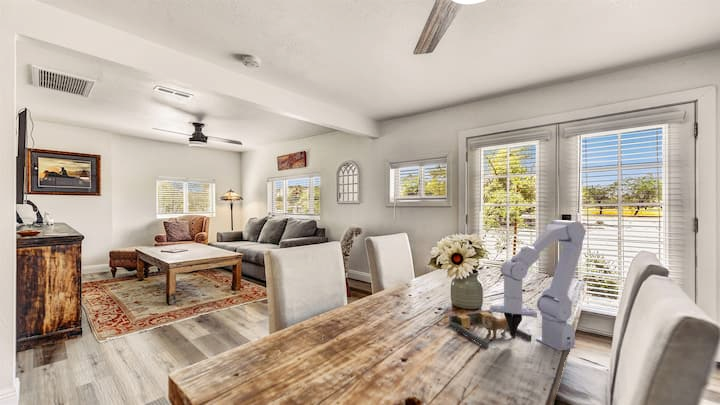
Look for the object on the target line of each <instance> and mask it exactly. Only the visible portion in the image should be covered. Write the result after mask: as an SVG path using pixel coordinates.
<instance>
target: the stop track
mask: <svg viewBox="0 0 720 405" xmlns="http://www.w3.org/2000/svg"><path fill="white" fill-rule="evenodd" d="M485 314H490V315H491V316H494V315H493V312H490V309H486V310H485V309H484V310H479V311H478V310H477V311H471V312H465V313H455V314H449V315H448V326H450V325H451V326H453V327H454V328H456V329H457V330H459V331H460V332H459V331H458V332H459V333H461V332H462V333H464V334H465V335H467V336H468V337H470V338H471V339H473V340H475V341H476V342H478V343H479V344H481V345H482V346H484V347H485V348H484V347H483V348H484V349H488V348H487V347H489V341H487V340H485V339H484V338H482V337H481V336H479V335H477V334H476V333H474V332H472V331H470V330H469V329H468V328H466V327H470V328H471V324H470V323H472V324H477V322H479V324H481V325H483V322H482V317H483V316H484V315H485ZM494 317H495V318H496V319H499V318H497V317H496V316H494ZM451 326H450V327H451ZM453 327H452V328H453ZM454 328H453V329H454ZM456 329H455V330H456ZM457 330H456V331H457ZM507 331H509V332H510V330H509V329H508V328H507ZM462 333H461V334H462ZM464 334H463V335H464ZM465 335H464V336H465ZM467 336H466V337H467ZM516 336H518V337H521V338H523V339H525V340H527V341H528V342H530V341H532V334H531V333H529V332H526V331H524V330H522V329H521V328H517V330H516ZM468 337H467V338H468ZM470 338H469V339H470ZM471 339H470V340H471ZM473 340H472V341H473ZM475 341H474V342H475ZM476 342H475V343H476ZM478 343H477V344H478ZM479 344H478V345H479ZM481 345H480V346H481ZM482 346H481V347H482Z"/></svg>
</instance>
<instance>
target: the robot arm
mask: <svg viewBox="0 0 720 405" xmlns="http://www.w3.org/2000/svg"><path fill="white" fill-rule="evenodd" d="M545 227H546V228H545V230H544V231H543V232H542V233H541V234H540V236H539V237H538V238H537V239H536V240H535V241H534V242H533V243H532V244H531V245H530V246H528V245H525V246H522V247H521V248H520V251H519V252H518V253H516V254H515V255H514V256H512V257H511V259H509V260H505V261H504V262H503V263H502V264H501V267H500V268H499V270H500V273H501V275H502V276H503V277H502V278H503V305H494V304H493V305H491V304H489V310H490V312H492V313H499V314H504V318H506V320H507V323H508V325H509V330H510V331H509V330H508V331H509V335H510V337H512V336H515V334H516V330H517V328H518V327H519V325H520V324H521V323H522V320H523V317H532V318H535V319H538V312H537V310H534V309H528V308H523V279H524V278H526V277H527V274H528V271H529V269H530V267H532V266H533V265H534V263H536V262H537V261H538V260H539V259H540V253H542V252H543V250H545V249H546V248H548V247H549V246H550V245H552V244H553V243H554V242H555V241H556V242H558V243H559V244H560V245H561V247H562V249H561V253H560V256H559V258H558V261H557V265H556V268H555V271H554V273H553V276H552V279H551V284H550V286H549V287H548V288H546V289H544V290H543V291H542V293H541V295H540V296H539V297H538V299H537V301H536V307H537V309H538V310H539V312H540V315H541V336H539V337H536V338H535V340H536V341H538V342H540V343H543V344H544V345H547V346H548V347H551V348H553V349H555V350H556V351H560V352H562V351H561V350H563V351H567V350H573V349H576V348H577V346H576V345H575V343H576V341H575V340H576V338H575V336H576V334H575V331H576V330H575V327H574V326H573V324H571V323H569V322H568V321H569V320H570V318H571V316H572V313H573V312H572V311H573V310H572V306H573V301H572V299H571V298H570V296H569V295H568V294H569V290H570V288H571V284H572V281H573V278H574V275H575V272H576V268H577V265H578V262H579V260H580V256H581V253H582V250H583V242H584V239H585V236H586V232H587V231H586V228H585V227H584V224H583V223H582V222H581V221H579V220H561V219H552V221H550V223H548V224H547V225H546V226H545ZM518 329H519V328H518ZM516 335H517V334H516Z"/></svg>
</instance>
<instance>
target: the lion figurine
mask: <svg viewBox="0 0 720 405" xmlns="http://www.w3.org/2000/svg"><path fill="white" fill-rule="evenodd" d="M495 317H496V316H494V315H493V316H491V315H490V314H485V315H484V316H483V317H482V322H483V324H482V325H483V327H484V328H485V329H486V330H487V334H486V336H487V337H490V336H491V335H492V339H493V340H497V330H502V329H503V331H502V332H500V335H502V336H503V335H505V334H506V333H507V332H508V330H507V328H508V329H509V325H508V323H507V320H506V318H505V317H503V318H498V319H496V318H497V317H496V318H495ZM492 332H493V334H492ZM516 336H517V334H515V336H511V337H512V338H516Z"/></svg>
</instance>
